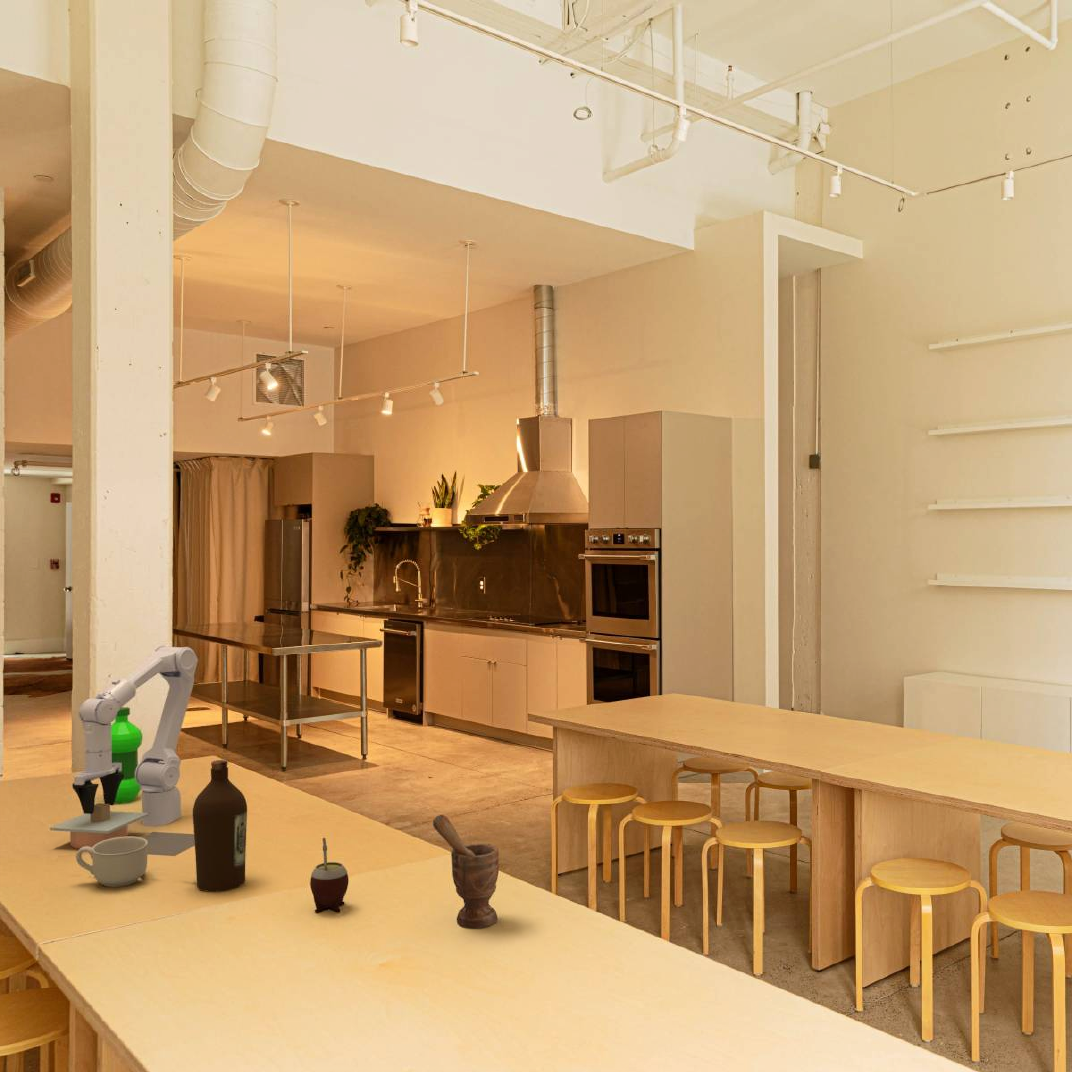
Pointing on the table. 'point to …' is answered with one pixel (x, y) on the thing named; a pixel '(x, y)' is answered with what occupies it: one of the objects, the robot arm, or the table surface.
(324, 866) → the mate gourd
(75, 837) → the bowl
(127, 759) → the plastic bottle
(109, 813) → the lid
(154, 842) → the mat
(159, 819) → the robot arm
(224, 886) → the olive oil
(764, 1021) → the table surface
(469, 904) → the mortar and pestle
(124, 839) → the teacup
